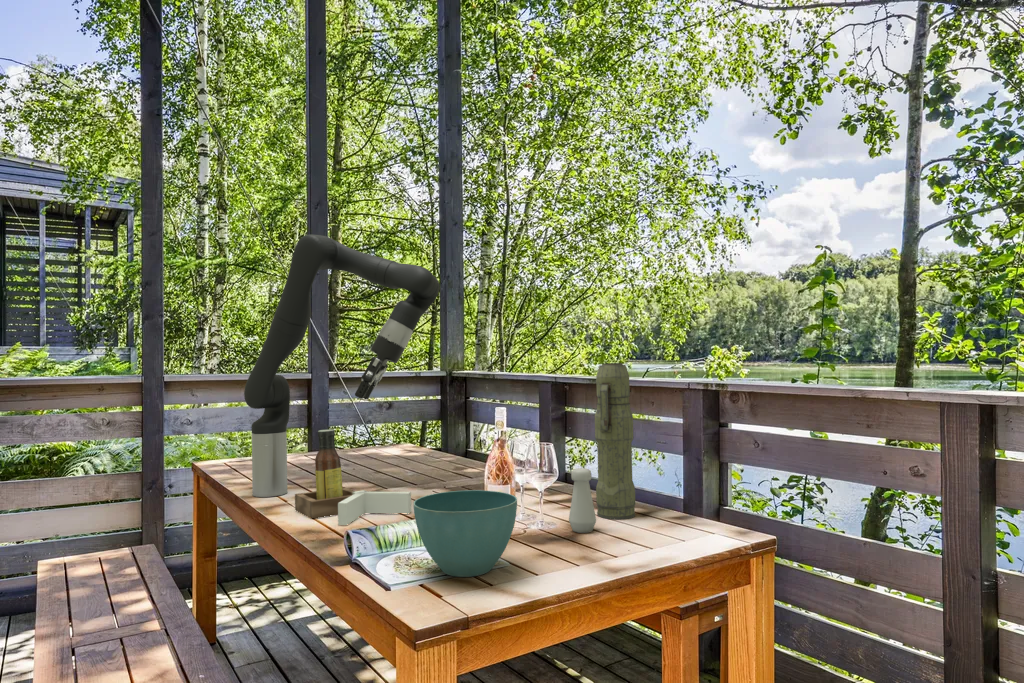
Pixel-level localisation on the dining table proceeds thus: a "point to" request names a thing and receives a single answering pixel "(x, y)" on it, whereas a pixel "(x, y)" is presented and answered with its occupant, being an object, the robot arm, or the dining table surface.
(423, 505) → the plant pot
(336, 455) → the sauce bottle
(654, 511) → the dining table surface
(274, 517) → the dining table surface
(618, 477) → the thermos
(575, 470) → the salt shaker
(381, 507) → the v block
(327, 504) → the collar
